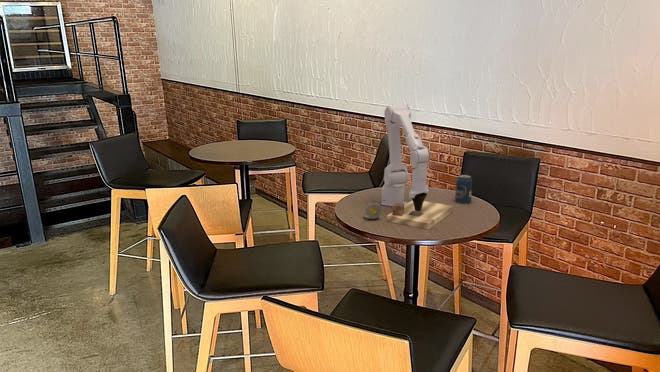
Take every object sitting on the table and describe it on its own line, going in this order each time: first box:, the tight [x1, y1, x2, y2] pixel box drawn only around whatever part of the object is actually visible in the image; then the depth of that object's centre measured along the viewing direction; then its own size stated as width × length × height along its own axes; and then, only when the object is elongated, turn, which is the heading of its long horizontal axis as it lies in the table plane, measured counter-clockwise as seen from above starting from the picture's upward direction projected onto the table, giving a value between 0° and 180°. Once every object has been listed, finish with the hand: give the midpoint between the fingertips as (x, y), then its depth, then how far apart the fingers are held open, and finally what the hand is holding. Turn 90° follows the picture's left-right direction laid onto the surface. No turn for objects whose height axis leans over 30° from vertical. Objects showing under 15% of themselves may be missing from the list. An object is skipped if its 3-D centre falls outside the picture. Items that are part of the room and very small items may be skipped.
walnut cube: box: [391, 203, 404, 216], centre depth 204 cm, size 4×4×4 cm
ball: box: [412, 211, 421, 217], centre depth 205 cm, size 4×4×4 cm
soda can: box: [454, 174, 473, 205], centre depth 226 cm, size 7×7×12 cm
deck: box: [386, 199, 454, 231], centre depth 209 cm, size 18×26×2 cm
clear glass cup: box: [363, 196, 383, 220], centre depth 206 cm, size 8×8×10 cm
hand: (417, 210), depth 206 cm, fingers closed
